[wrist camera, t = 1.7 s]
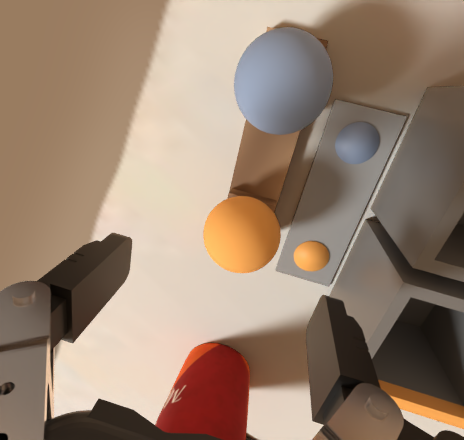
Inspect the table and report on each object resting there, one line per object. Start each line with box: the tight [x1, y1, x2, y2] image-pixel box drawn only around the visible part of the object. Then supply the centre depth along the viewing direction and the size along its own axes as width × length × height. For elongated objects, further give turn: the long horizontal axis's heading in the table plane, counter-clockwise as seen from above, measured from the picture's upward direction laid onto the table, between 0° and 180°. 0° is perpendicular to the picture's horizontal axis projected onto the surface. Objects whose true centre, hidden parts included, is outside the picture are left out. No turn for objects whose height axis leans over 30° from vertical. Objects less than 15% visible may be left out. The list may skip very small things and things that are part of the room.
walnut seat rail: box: [228, 27, 328, 213], centre depth 18 cm, size 3×13×2 cm, turn 167°
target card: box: [276, 99, 407, 286], centre depth 19 cm, size 4×12×1 cm, turn 167°
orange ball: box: [204, 196, 281, 273], centre depth 17 cm, size 4×4×4 cm
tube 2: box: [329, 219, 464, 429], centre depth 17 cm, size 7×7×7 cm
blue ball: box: [234, 27, 333, 135], centre depth 13 cm, size 4×4×4 cm
